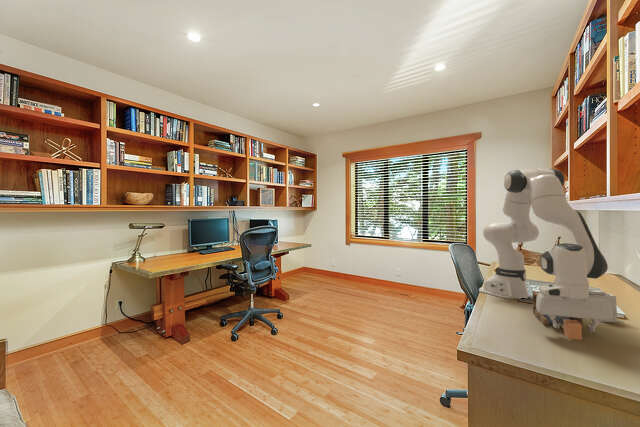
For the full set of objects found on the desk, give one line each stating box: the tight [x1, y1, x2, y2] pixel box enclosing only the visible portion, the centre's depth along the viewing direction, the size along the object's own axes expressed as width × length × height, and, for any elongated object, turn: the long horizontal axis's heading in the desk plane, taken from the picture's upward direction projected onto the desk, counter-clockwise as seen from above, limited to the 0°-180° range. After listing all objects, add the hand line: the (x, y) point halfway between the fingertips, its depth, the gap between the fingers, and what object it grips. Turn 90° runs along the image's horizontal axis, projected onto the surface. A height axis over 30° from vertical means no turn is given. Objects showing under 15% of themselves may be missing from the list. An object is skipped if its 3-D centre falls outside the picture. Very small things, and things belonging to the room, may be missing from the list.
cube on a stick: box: [544, 315, 583, 341], centre depth 102 cm, size 21×7×6 cm, turn 156°
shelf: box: [531, 290, 584, 331], centre depth 107 cm, size 14×11×10 cm
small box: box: [593, 290, 618, 323], centre depth 108 cm, size 8×6×10 cm
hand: (573, 329), depth 94 cm, fingers open, 8 cm apart
